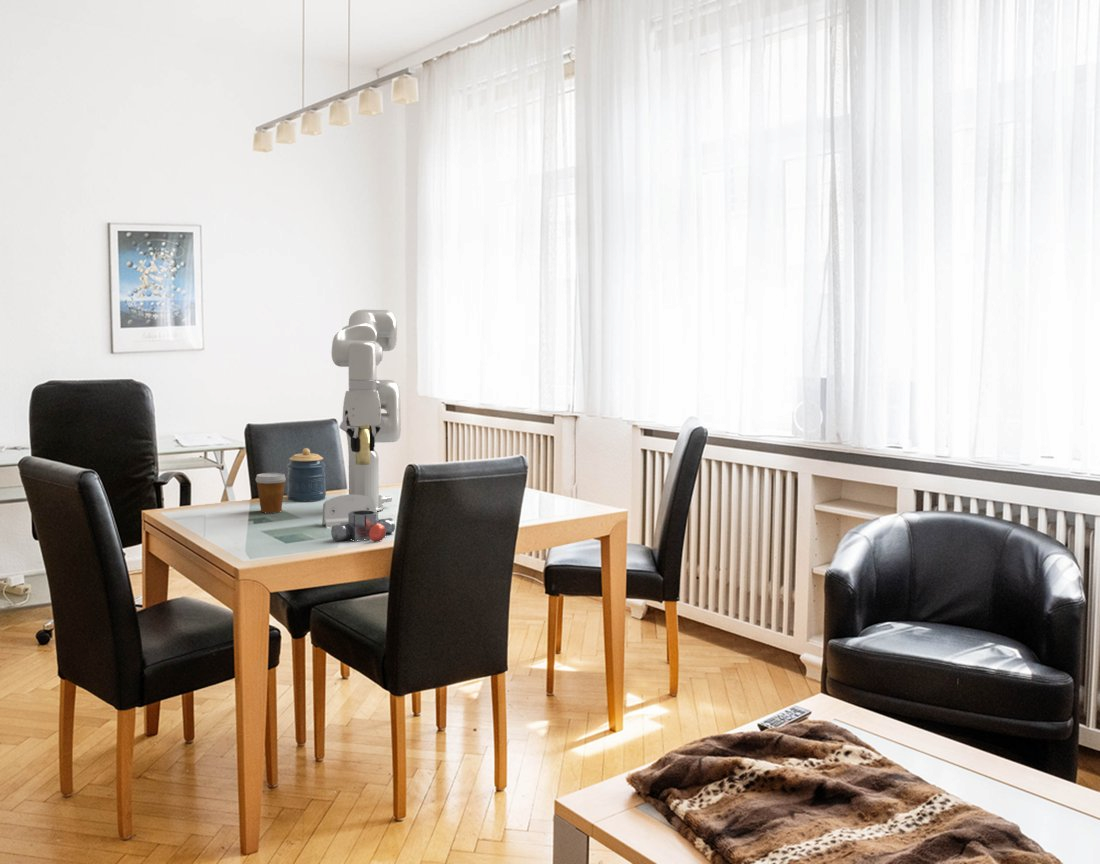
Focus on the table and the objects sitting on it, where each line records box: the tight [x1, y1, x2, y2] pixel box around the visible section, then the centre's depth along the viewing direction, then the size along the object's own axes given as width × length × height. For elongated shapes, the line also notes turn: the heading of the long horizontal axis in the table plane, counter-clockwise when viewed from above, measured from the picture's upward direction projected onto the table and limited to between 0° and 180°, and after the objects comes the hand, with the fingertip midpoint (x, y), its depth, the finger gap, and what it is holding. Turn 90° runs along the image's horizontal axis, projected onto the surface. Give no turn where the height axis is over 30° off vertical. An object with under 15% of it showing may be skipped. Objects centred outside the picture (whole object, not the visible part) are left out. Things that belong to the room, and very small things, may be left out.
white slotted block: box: [322, 494, 379, 528], centre depth 298 cm, size 17×5×10 cm, turn 115°
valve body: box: [330, 510, 396, 542], centre depth 278 cm, size 18×12×7 cm, turn 131°
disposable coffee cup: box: [254, 472, 287, 514], centre depth 315 cm, size 10×10×12 cm
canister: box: [286, 447, 327, 503], centre depth 339 cm, size 13×13×18 cm
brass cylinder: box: [356, 425, 370, 465], centre depth 277 cm, size 4×4×12 cm
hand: (362, 450), depth 277 cm, fingers closed on brass cylinder, 4 cm apart
